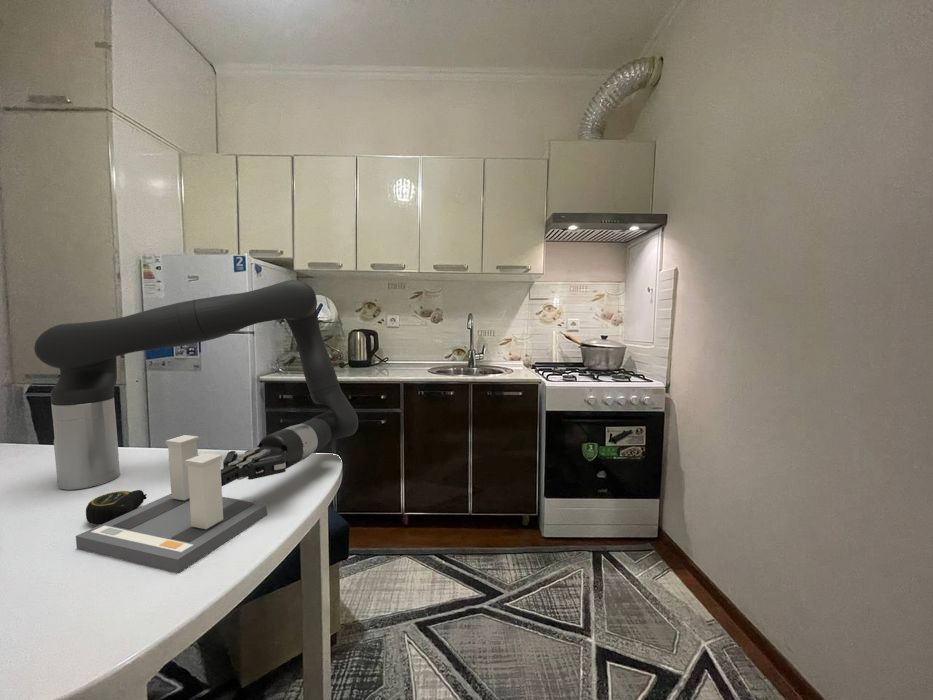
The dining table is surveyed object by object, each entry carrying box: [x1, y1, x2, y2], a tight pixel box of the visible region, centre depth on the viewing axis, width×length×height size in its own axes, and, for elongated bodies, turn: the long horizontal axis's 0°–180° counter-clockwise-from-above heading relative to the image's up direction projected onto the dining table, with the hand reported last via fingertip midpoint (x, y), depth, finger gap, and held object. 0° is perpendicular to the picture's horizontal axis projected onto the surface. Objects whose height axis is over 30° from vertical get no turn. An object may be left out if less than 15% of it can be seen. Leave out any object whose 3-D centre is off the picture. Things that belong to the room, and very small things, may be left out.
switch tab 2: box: [185, 452, 223, 529], centre depth 61 cm, size 3×3×11 cm
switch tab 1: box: [165, 434, 200, 500], centre depth 70 cm, size 3×3×11 cm
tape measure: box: [85, 489, 148, 526], centre depth 66 cm, size 7×7×4 cm
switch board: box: [75, 493, 268, 574], centre depth 63 cm, size 20×16×2 cm
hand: (213, 481), depth 62 cm, fingers closed
